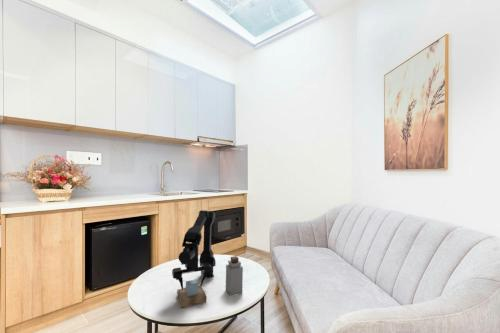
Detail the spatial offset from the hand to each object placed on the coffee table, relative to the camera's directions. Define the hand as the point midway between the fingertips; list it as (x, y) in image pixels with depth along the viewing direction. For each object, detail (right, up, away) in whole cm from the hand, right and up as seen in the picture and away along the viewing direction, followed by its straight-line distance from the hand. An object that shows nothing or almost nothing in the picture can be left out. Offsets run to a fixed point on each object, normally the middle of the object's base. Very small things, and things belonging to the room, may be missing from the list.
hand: (191, 287), depth 113 cm
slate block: (0, -3, 0) cm, 3 cm away
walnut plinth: (0, -6, 0) cm, 6 cm away
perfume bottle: (+21, -6, +8) cm, 23 cm away
